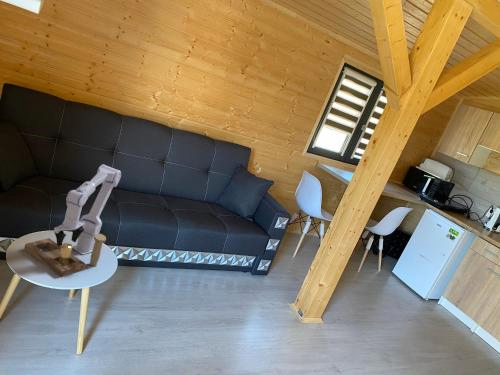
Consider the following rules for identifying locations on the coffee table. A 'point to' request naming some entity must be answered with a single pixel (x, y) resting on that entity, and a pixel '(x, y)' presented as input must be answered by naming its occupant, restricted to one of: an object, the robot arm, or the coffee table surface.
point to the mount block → (53, 257)
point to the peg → (65, 254)
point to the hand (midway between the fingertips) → (66, 243)
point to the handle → (97, 248)
